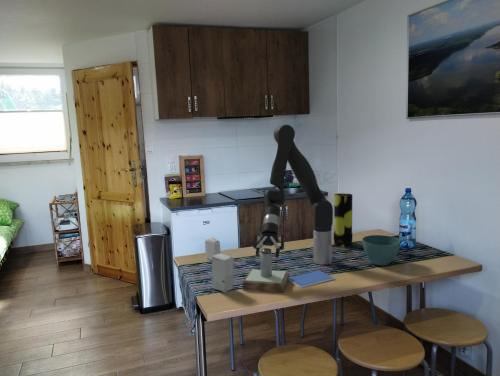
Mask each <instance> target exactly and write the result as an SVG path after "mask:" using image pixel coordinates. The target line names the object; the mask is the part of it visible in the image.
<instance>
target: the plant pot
mask: <svg viewBox="0 0 500 376" xmlns="http://www.w3.org/2000/svg"><path fill="white" fill-rule="evenodd" d="M361 242H362V246H363V251H364V253H365V255H366V257H367V259H368V261H370V263H371V264H373V265H376V266H388V265H390V264H391V263H392V261H393V260H394V259H395V257H396V256H397V254H398V252H399V250H400V246H401V245H400V244H401V240H400V239H399V238H397V237H394V236H389V235H383V234H382V235H381V234H373V235H372V234H371V235H367V236H363V237H362V240H361Z"/></svg>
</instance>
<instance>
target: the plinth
mask: <svg viewBox="0 0 500 376" xmlns="http://www.w3.org/2000/svg"><path fill="white" fill-rule="evenodd" d="M289 275H290V274H289V271H287V270H273V269H272V276H271V277H267V278H266V277H262V276H261V269H254V268H252V269H249V272H247V275H246V276H245V278H244V279H243V280H242V290H244V291H255V292H256V291H258V292H271V293H272V292H273V293H284V292H285V289H286V287H287V285H288V282H289V281H288V278H289Z"/></svg>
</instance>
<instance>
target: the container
mask: <svg viewBox="0 0 500 376" xmlns="http://www.w3.org/2000/svg"><path fill="white" fill-rule="evenodd" d="M333 198H334V200H333V203H334V204H333V206H334V207H333V245H334V246H336V247H338V248H339V247H340V248H349V247H351V246H352V245H353V194H352V193H347V192H346V193H344V192H342V193H341V192H339V193H334V195H333Z"/></svg>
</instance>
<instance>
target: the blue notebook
mask: <svg viewBox="0 0 500 376" xmlns="http://www.w3.org/2000/svg"><path fill="white" fill-rule="evenodd" d="M335 279H336V278H335V277H334V276H332V275H329V274H327V273H325V272H323V271H321V270H315V271H311V272H308V273H307V272H306V273H303V274H297V275H294V276H290V277H289V278H288V282H289V283H292V285H294V286H297V287H298V288H300V289H302V288H306V287H310V286H314V285H317V284H322V283H326V282H330V281H334V280H335Z"/></svg>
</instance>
